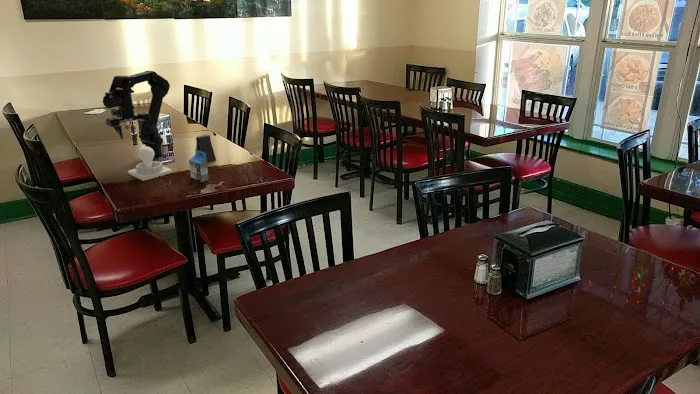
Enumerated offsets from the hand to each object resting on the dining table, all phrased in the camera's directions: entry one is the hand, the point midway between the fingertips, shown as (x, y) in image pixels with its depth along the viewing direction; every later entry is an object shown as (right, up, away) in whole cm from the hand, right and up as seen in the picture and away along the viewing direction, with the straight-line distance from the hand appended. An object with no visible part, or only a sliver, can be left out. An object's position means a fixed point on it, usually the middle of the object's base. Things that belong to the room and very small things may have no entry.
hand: (131, 137), depth 238 cm
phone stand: (+32, -10, +11) cm, 35 cm away
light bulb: (+12, -16, -8) cm, 22 cm away
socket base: (+12, -17, -8) cm, 22 cm away
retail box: (+36, -20, -15) cm, 44 cm away
